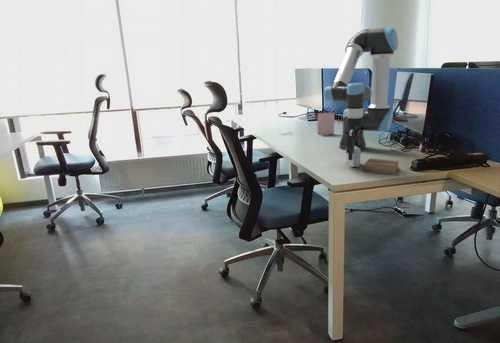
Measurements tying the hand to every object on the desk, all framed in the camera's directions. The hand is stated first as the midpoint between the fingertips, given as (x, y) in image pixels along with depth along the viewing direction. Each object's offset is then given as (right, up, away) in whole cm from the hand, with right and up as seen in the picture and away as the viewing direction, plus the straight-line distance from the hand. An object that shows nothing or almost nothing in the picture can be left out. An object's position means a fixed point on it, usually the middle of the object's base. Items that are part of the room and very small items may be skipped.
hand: (353, 163), depth 181 cm
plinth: (+10, -3, -10) cm, 15 cm away
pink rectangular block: (+3, +21, +80) cm, 83 cm away
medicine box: (0, -1, 0) cm, 1 cm away
